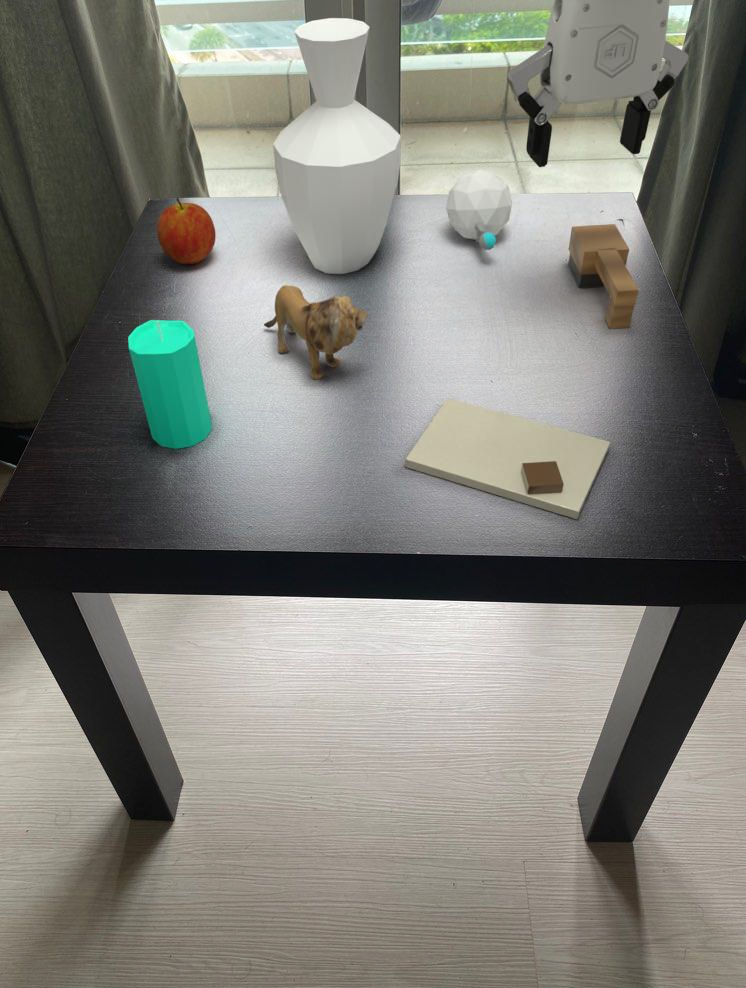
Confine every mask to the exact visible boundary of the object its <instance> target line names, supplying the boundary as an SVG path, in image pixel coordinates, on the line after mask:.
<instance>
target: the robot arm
mask: <svg viewBox="0 0 746 988" xmlns="http://www.w3.org/2000/svg"><path fill="white" fill-rule="evenodd" d="M669 11H670V0H553V1H552V6H551V10H550V15H549V18H548V23H547V27H546V33H545V38H544V44H543V47H542V48H541V49H539V50H538V51H536V52H535V53H533V54H532V55H530V56H529V57H527V58H526V59H525V60H523V61H522V62H520V63H519V64H517V65H515V66H514V67H513V68H511V69H510V70H509V71H508V72H507V74H506V79H507V82H508V84H509V87H510V89H511V93H512V94H513V99H514V102H516V103H517V104H518V105H519V106H520V108H521V109H522V110H523V111H524V113H525V114H527V116H528V117H529V120H528V129H527V138H526V145H525V146H526V147H525V149H526V154H527V155H528V156H529V158H530V159H531V161H533V162H534V164H535V165H537V167H538V168H544V167H546V166H548V161H549V153H550V147H551V140H552V133H553V125H552V123H550V122H549V120H550V118H551V117H552V116H553V115H554V113H556V111H557V110H558V109H559V107H560V106H561V104H563V105H581V104H590V103H597V102H599V103H600V102H604V101H605V102H606V101H607V102H608V101H614V100H622V99H629V98H633V100H629V101H628V103H627V104H626V106H625V113H624V117H623V123H622V126H621V127H622V128H621V133H620V137H619V144H620V145H621V146H623V147H624V148H625V150H627V151H628V152H629V153H630V154H632V155H639V154H641V150H642V145H643V141H645V139H646V136H647V131H648V127H649V123H650V117H651V113H652V111H655V110H656V109H657V108H658V106H659V104H660V101H661V99H662V98H663V97H664V96H666V94H668V92H669V91H670V90H672V88H673V87H674V85H675V82H676V78H678V77H679V76H680V74H681V72H682V70H683V69H684V67H685V65H686V64H687V63H688V62H689V57H690V56H689V54H688V53H687V52H686V51H684V50H682V49H681V48H679V47H677V46H676V45H674V44H672V43H671V42H669V41H667V40H666V39H667V38H666V37H667V31H668V22H669V13H670V12H669ZM663 59H664V64H663V66H662V63H663ZM661 68H662V69H661ZM537 75H539V82H540V87H539V89H538V90H537V91H536V93H535V94H534V96H532V95H531V91H530V89H529V82H530V81H531V80H532V79H533V78H535V77H536V76H537Z"/></svg>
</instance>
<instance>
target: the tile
mask: <svg viewBox="0 0 746 988" xmlns="http://www.w3.org/2000/svg"><path fill="white" fill-rule="evenodd" d="M610 448H611V441H609V440H605V439H602V438H598V437H594V436H590V435H586V434H582V433H579V432H575V431H572V430H568V429H564V428H561V427H557V426H553V425H550V424H547V423H542V422H539V421H534V420H531V419H528V418H523V417H520V416H517V415H512V414H509V413H505V412H502V411H497V410H494V409H489V408H486V407H483V406H479V405H475V404H473V403H468V402H466V401H461V400H457V399H454V398H450V397H447V398H446V400H445V401H444V402H443V404H442V405H441V407H440V408H439V410H438V411H437V412H436V414H435V416H434V417H433V418H432V419H431V421H430V423H429V424H428V426H427V427H426V429H425V430H424V431H423V433H422V434H421V436H420V437H419V439H418V440H417V442H416V443H415V444H414V446H413V448H412V449H411V451H410V452H409V453H408V455H407V456H406V457H405V459H404V460H405V463H404V464H405V465H404V467H405V468H408V469H411V470H414V471H418V472H421V473H424V474H427V475H430V476H434V477H437V478H439V479H443V480H447V481H450V482H454V483H456V484H460V485H463V486H466V487H468V488H469V487H470V488H473V489H475V490H480V491H481V492H486V493H489V494H493V495H496V496H499V497H502V498H505V499H508V500H512V501H515V502H519V503H522V504H525V505H528V506H531V507H534V508H539V509H542V510H545V511H548V512H551V513H554V514H558V515H561V516H565V517H568V518H570V519H574V520H578V518H579V516H580V515H581V512H582V510H583V507H584V505H585V503H586V501H587V499H588V497H589V494H590V493H591V490H592V488H593V486H594V483H595V481H596V479H597V477H598V475H599V473H600V470H601V468H602V466H603V464H604V462H605V459H606V457H607V454H608V452H609V450H610ZM549 461H556V462H557V465H558V468H559V471H560V474H561V477H562V480H563V483H564V485H563V490H562V492H560V493H543V494H527V491H526V487H525V484H524V480H523V477H522V473H521V468H522V463H533V462H549Z"/></svg>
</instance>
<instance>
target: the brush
mask: <svg viewBox="0 0 746 988" xmlns="http://www.w3.org/2000/svg"><path fill="white" fill-rule="evenodd" d="M568 251H569V255H568V263H567V264H568V266H569V269H570V271H571V273H572V275H573V277H574V280H575V282H576V284H577V286H578V288H579V289H583V288H599V287H604V288H605V289H606V291H607V294H608V296H609V301H608V305H607V310H606V314H605V322H606V325H607V327H608V329H625V328H630V326H631V322H632V318H633V314H634V309H635V306H636V304H637V299H638V294H639V291H640V290H639V287H638V285H637V284H636V282H635V280H634V279H633V277H632V274H631V273H630V271H629V269H628V267H627V261H628V256H629V253H630V248H629V246H628V244H627V242H626V241H625V239H624V237H623V236H622V234H621V232H620V230H619V228H618V227H617V225H616V224H615V223H608V224H593V225H592V224H591V225H575V226H573V225H572V226H571V230H570V237H569V243H568Z"/></svg>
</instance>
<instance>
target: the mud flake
mask: <svg viewBox="0 0 746 988" xmlns="http://www.w3.org/2000/svg"><path fill="white" fill-rule="evenodd" d="M521 473H522V477H523V480H524V484H525V487H526V491H527V494H543V493H560V492H562V490H563V485H564V483H563V480H562V477H561V474H560V471H559V468H558V465H557V462H556V461H549V462H533V463H522V468H521Z"/></svg>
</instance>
